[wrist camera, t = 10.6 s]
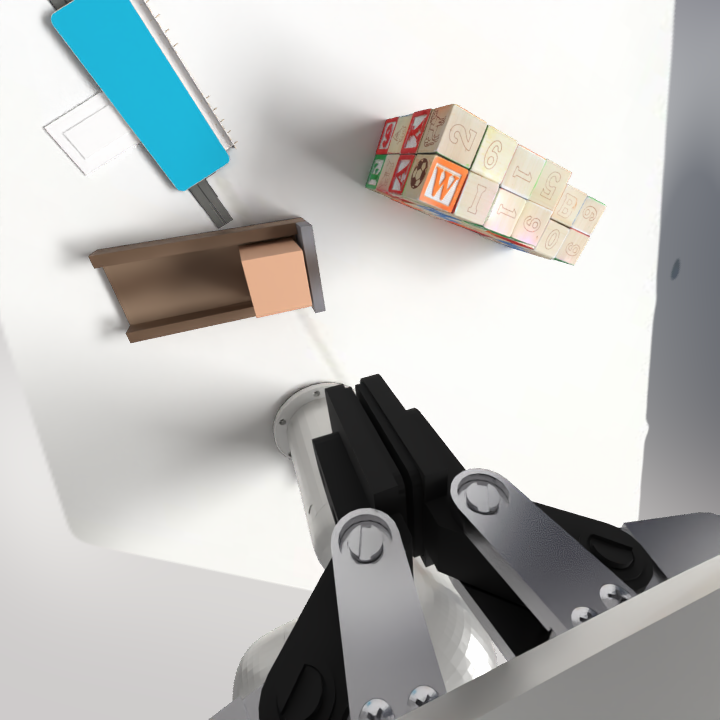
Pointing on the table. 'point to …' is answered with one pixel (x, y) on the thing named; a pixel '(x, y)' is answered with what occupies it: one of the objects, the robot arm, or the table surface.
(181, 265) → the chute
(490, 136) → the stack of blocks
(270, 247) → the block
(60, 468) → the table surface
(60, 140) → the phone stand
